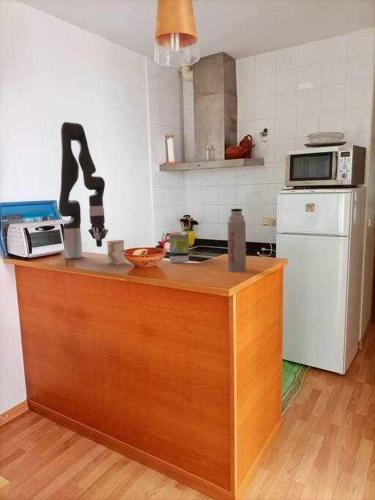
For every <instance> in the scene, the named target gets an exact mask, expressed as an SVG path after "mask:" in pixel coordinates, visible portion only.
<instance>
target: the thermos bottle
mask: <svg viewBox="0 0 375 500" xmlns="http://www.w3.org/2000/svg"><path fill="white" fill-rule="evenodd" d="M228 219H229V220H228V221H227V247H228V248H227V266H228V267H227V268H228V271H229V272H233V273H235V272H236V273H239V272H245V271H246V270H247V267H246V266H247V265H246V263H247V259H246V257H247V255H246V254H247V253H246V250H247V249H246V246H247V245H246V244H247V243H246V242H247V241H246V237H247V236H246V233H247V232H246V231H247V230H246V228H247V227H246V224H247V223H246V221H245V216H244V215H243V208H231V210H230V215H229V216H228Z"/></svg>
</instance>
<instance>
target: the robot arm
mask: <svg viewBox="0 0 375 500" xmlns="http://www.w3.org/2000/svg"><path fill="white" fill-rule="evenodd" d="M60 140H61V142H60V143H61V170H60V192H59V201H58V212H59V215H60V216H61V217H70V219H69V220H68V221H66V222H64V223H63V224H62V225H63V237H64V241H63V248H64V257H65V259H80V258H82V257H83V244H82V233H81V232H82V230H81V223H82V218H81V217H82V216H81V215H82V214H81V213H82V212H81V204H80V202H79V201H78V200H77V199H69V198H70V194H71V191H72V190H73V188H74V186H75V185H76V183H77V181H78V180H79V176H80V175H79V174H80V173H79V171H80V168H81V171H82V175H83V177H82V178H83V184H84V187H85V188H86V189H87V190H88V191H94V193H93V194H90V195H89V197H88V203H89V223H90V224H91V225H90V227H91V228H90V229H88V232H89V234H90V236H91V237H92V239H93V240H95V241H96V242H95V243H96V247H97V248H101V247H103V239H105V238H106V236H107V235H108V232H109V229H107V228H106V226H105V222H106V221H105V219H106V218H105V208H104V199H103V198H104V193H105V186H106V182H105V179H104V178H103V177H102V176H93V174H95V173H96V172H97V169H96V165H95V164H94V160H93V158H92V156H91V153H90V149H89V143H88V140H87V136H86V132H85V129H84V127H83V125H82V124H81V123H79V122H70V121H64V122H63V123H62V124H61V127H60ZM72 141H76V142H77V143H78V145H79V152H78V158H76V157H75V155H74V152H73V150H72ZM77 159H78V160H77ZM79 167H80V168H79Z"/></svg>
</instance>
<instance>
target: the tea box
mask: <svg viewBox="0 0 375 500" xmlns="http://www.w3.org/2000/svg"><path fill="white" fill-rule="evenodd" d="M189 236H190V233H189V231H172V232H170V233H169V236H168V237H169V263H175V264H176V263H177V264H178V263H189V260H190V238H189Z"/></svg>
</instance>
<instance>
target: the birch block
mask: <svg viewBox="0 0 375 500" xmlns="http://www.w3.org/2000/svg"><path fill="white" fill-rule="evenodd" d="M124 241H125V240H123V239H112V240H108V241H106V245H107V259H108V265H113V264H116V265H115V266H119V265H122V264H125V263H126V261H125V260H126V257H125V258H124V256H123V255H122V252H123V251H124V252H125V243H124ZM124 262H125V263H124ZM121 263H122V264H121ZM118 264H119V265H118Z"/></svg>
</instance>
